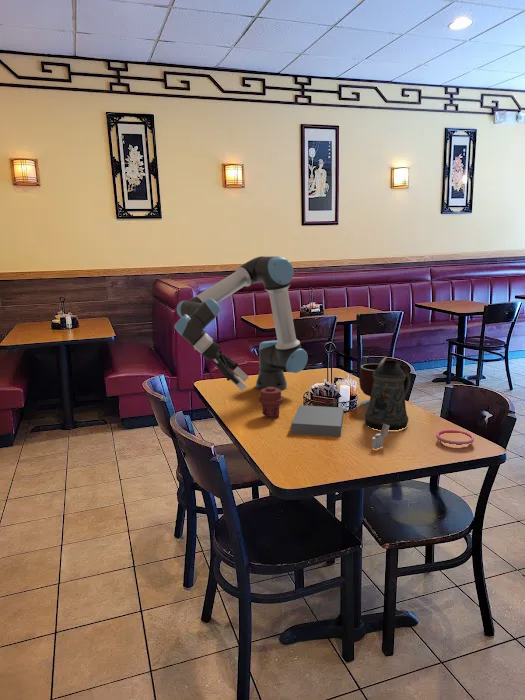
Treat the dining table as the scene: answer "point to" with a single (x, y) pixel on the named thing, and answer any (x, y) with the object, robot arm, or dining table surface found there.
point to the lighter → (380, 437)
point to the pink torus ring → (454, 441)
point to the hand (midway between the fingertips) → (245, 383)
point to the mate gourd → (368, 379)
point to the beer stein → (388, 397)
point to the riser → (318, 421)
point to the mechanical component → (270, 402)
